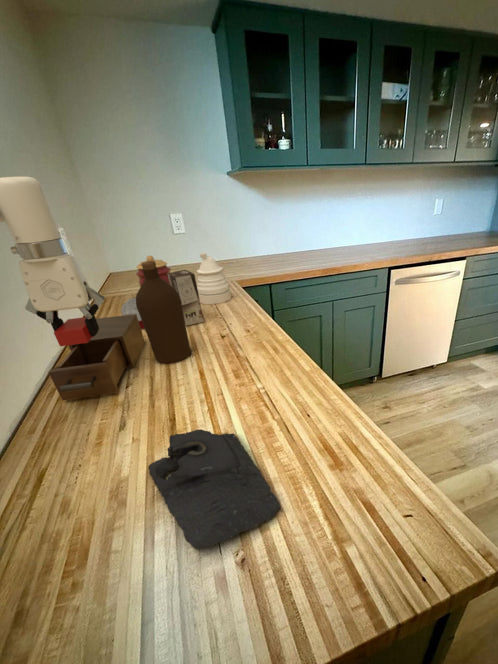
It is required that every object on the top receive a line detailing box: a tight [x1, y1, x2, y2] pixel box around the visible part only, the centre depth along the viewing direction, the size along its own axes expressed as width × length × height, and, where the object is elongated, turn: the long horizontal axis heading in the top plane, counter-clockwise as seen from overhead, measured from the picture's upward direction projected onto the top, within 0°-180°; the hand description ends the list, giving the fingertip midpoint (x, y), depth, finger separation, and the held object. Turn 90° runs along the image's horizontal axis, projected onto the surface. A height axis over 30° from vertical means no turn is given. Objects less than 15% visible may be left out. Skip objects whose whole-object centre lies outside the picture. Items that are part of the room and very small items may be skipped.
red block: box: [53, 316, 93, 347], centre depth 74 cm, size 8×6×3 cm
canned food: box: [120, 296, 145, 330], centre depth 114 cm, size 11×10×10 cm
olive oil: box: [135, 260, 192, 364], centre depth 86 cm, size 11×11×25 cm
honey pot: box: [196, 252, 232, 305], centre depth 131 cm, size 13×13×18 cm
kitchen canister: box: [135, 255, 172, 288], centre depth 134 cm, size 13×13×18 cm
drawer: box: [47, 340, 128, 401], centre depth 78 cm, size 19×11×7 cm, turn 12°
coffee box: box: [167, 269, 205, 327], centre depth 112 cm, size 9×6×16 cm
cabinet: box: [67, 314, 146, 370], centre depth 91 cm, size 17×13×9 cm
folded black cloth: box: [148, 429, 282, 551], centre depth 51 cm, size 15×22×5 cm
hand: (79, 335), depth 74 cm, fingers closed on red block, 5 cm apart
